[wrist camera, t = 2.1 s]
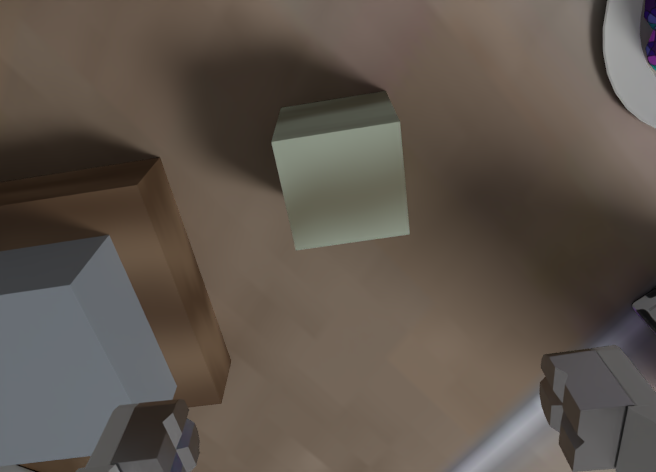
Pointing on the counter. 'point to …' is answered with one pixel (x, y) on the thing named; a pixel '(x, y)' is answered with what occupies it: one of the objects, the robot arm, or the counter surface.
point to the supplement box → (14, 469)
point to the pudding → (631, 56)
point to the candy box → (647, 309)
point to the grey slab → (70, 349)
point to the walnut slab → (131, 257)
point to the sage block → (342, 170)
